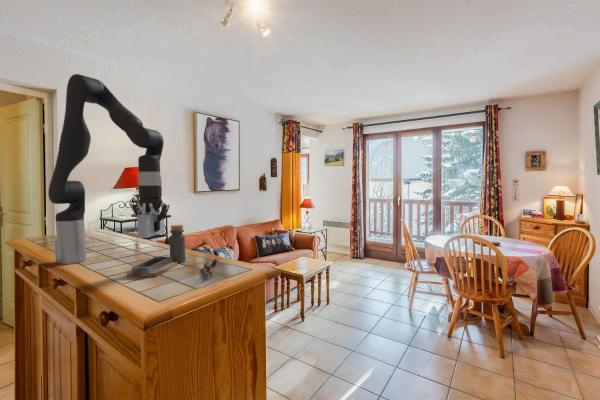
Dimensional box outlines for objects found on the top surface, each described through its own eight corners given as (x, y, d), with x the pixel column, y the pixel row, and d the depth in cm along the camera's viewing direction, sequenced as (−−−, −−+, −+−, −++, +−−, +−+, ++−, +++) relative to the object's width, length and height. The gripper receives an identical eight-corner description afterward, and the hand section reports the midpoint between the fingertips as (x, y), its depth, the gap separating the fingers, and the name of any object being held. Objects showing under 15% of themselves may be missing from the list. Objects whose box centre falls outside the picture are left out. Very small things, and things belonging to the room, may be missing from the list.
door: (138, 237, 104) (137, 214, 104) (156, 232, 115) (155, 211, 115) (146, 237, 104) (145, 215, 104) (164, 232, 115) (163, 211, 114)
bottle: (188, 260, 125) (187, 224, 124) (181, 263, 119) (180, 226, 118) (174, 259, 126) (173, 224, 124) (167, 263, 120) (166, 226, 119)
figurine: (204, 278, 112) (213, 279, 99) (196, 272, 111) (204, 272, 98) (215, 266, 115) (224, 265, 102) (207, 259, 114) (216, 257, 101)
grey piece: (125, 276, 104) (125, 267, 104) (151, 264, 119) (151, 256, 119) (155, 277, 103) (155, 268, 102) (178, 265, 118) (177, 257, 117)
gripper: (125, 184, 106) (127, 232, 107) (162, 184, 104) (164, 233, 105) (138, 184, 113) (140, 229, 114) (173, 184, 111) (175, 229, 113)
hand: (151, 231), depth 110 cm, fingers closed on door, 3 cm apart
